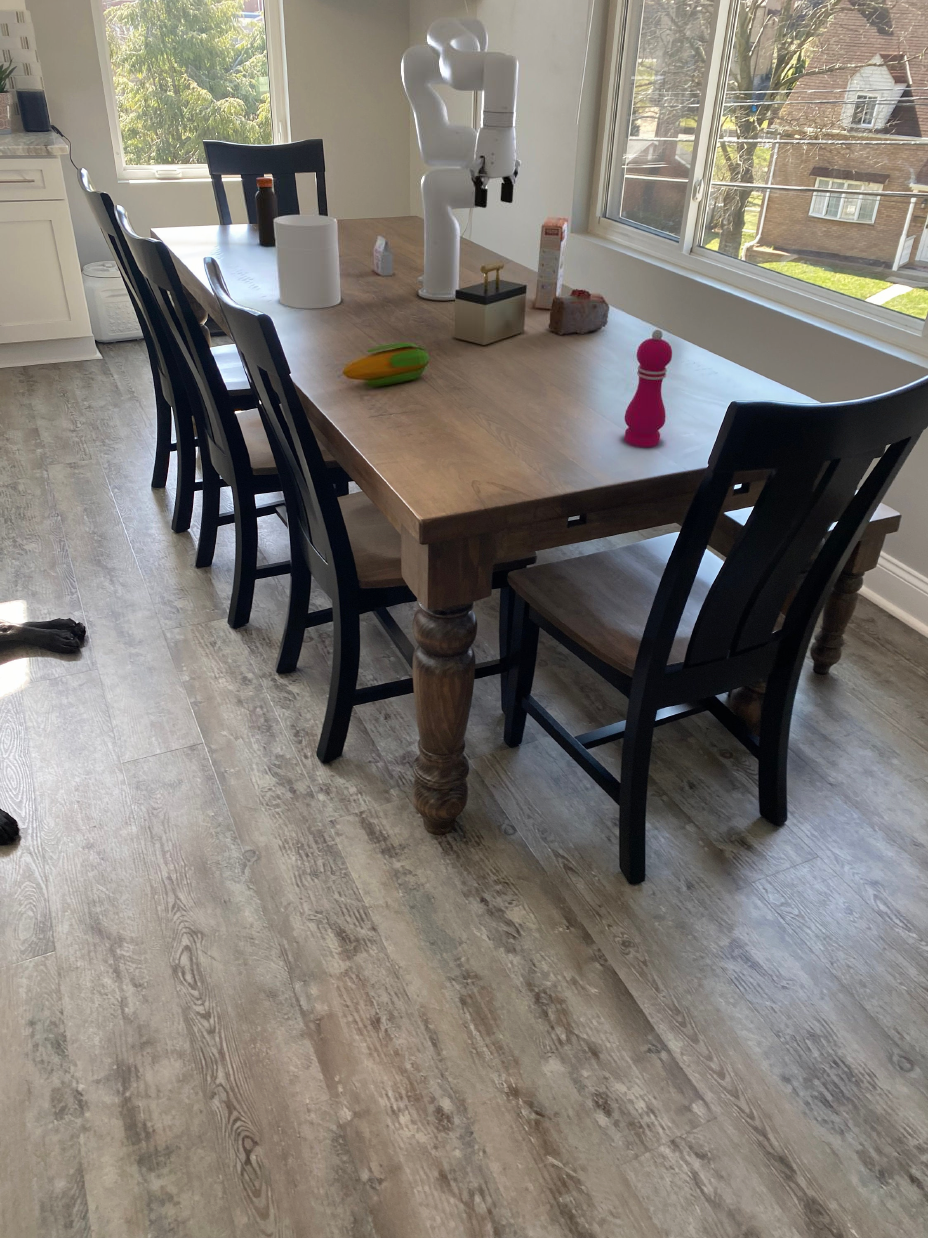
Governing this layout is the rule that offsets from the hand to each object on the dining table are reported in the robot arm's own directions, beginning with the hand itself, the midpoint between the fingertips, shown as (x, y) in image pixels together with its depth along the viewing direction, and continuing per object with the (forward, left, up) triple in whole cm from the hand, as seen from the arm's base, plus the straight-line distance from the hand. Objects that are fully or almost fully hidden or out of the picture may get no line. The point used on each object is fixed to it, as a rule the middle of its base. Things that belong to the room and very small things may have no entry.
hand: (493, 204), depth 207 cm
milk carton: (-62, +13, -28) cm, 69 cm away
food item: (+15, +16, -28) cm, 36 cm away
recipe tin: (+2, -6, -20) cm, 21 cm away
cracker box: (-8, +29, -28) cm, 41 cm away
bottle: (-116, +6, -28) cm, 119 cm away
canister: (-46, -23, -28) cm, 58 cm away
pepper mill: (+72, -28, -28) cm, 82 cm away
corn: (+19, -46, -28) cm, 57 cm away
